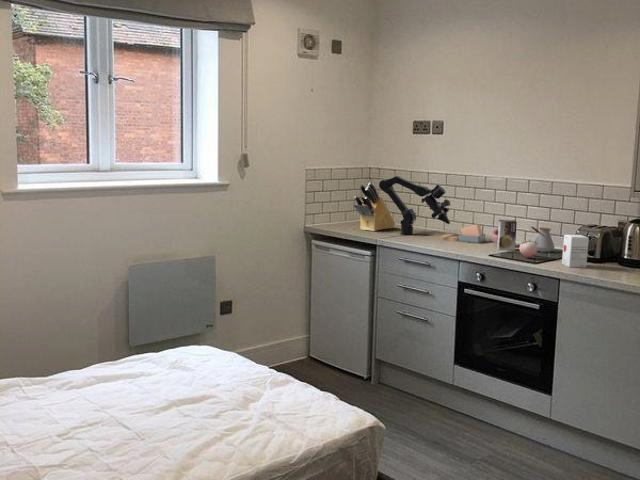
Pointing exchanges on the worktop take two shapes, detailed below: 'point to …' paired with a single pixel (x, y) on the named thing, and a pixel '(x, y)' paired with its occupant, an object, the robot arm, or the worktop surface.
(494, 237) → the mortar and pestle
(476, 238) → the slate tray
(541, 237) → the coffee pot
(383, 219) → the knife block
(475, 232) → the terracotta block
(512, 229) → the coffee box
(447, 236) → the tan wooden slab
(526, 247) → the decorative fruit
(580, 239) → the supplement box
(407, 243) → the worktop surface
